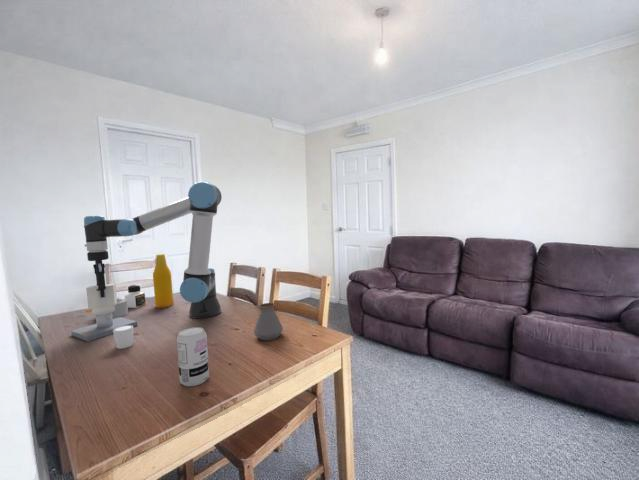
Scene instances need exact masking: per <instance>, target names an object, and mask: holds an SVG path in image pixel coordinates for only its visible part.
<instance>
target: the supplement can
mask: <svg viewBox="0 0 639 480" xmlns="http://www.w3.org/2000/svg"><path fill="white" fill-rule="evenodd" d="M175 341H176V349H177V361H178V364H177V365H178V374H179V375H178V376H179V382H180V384H181V385H183V386H185V387H195V386H199V385H201V384H204V383H205V382H206V381H207V380H208V379H209V378H210V365H209V351H208V336H207V333H206V331H205V329H204V328H203V327H200V326H195V327H188V328H184V329H182V330H180V331H179V332H178V334H177V338H176V340H175Z"/></svg>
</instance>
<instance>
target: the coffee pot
mask: <svg viewBox="0 0 639 480" xmlns="http://www.w3.org/2000/svg"><path fill="white" fill-rule="evenodd" d="M242 297H243V299H247V300H248V301H250V303H251V304H253V305H254V306H255V307H256V308H257V309H259V311H260V313H259V315H258V318H257V321H256V324H255V326H254V330H253V333H254V335H255V336H256V337H257V338H259V340H261V341H273V340H276V339H278V338H279V336H281V334H282V332H283V330H284V327H283V325H282V322H280V319H279V318H278V316H277V313H276V311H275V307H276V304H275V303H274V302H265V303H261V304H258V303H257V302H256V301H255V300H254V299H253V298H252V297H250V296H249V295H248V294H245V295H244V296H242Z"/></svg>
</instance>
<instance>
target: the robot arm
mask: <svg viewBox="0 0 639 480" xmlns="http://www.w3.org/2000/svg"><path fill="white" fill-rule="evenodd" d="M187 195H188V196H187V197H185V198H182V199H180V200H178V201H174V202H172V203H170V204H167V205H164V206H161V207H158V208H156V209H154V210H151V211H148V212H146V213H143V214H141V215H138V216H136V217H132V218H129V219H128V218H122V219H106V217H105V216H104V215H87V216H85V217H84V218H83V228H84V233H85V242H86V244H84V247H86V251H87V253H86V256H87V261H89V262H95V263H94V264H93V265H92V266H93V269H94V270H93V271H94V274H95V278H96V286H97V285H98V289H96V291H98V295H99V304H100V305H104V304H107V298H106V286H105V285H106V278H105V274H106V269H105V267H106V264H105V263H103V261H106V260H108V259H109V251H108V249H109V248H108V246H109V244H108V240H107V239H108V238H116V237H118V238H119V237H124V238H126V237H132V236H137V235H140V234H142V233H143V232H145V231H148V230H150V229H153V228H156V227H158V226H160V225H164V224H166V223H169V222H172V221H175V220H177V219H180V218H181V217H185V216H186V215H189V214H191V215H192V221H191V233H190V243H189V244H190V245H189V256H188V264H187V265H188V266H187V268H186V269H184V271H183V281H182V282H181V284H180V286H179V293H180V296H181V297H182V299H183V300H184V301H186V302H188V303H190V307H189V308H190V309H189V311H188V314H189V318H192V319H205V318H210V317H214V316H217V315H220V314H221V312H222V307H221V305H220V302H219V300H218V298H217V286H216V285H217V284H216V272H215V269H214V268H209V261H210V253H211V252H210V251H211V242H212V230H213V229H212V228H213V218H214V216H217V214H218V213H217V212H218V206H219V205H220V203H221V201H222V192H221V190H220V188H218V187H217V186H216V185H214V184H212V183H210V182H207V181H198V182H195V183H194V184H193V185H191V187H190V188H189V190H188V194H187Z"/></svg>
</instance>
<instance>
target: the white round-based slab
mask: <svg viewBox="0 0 639 480" xmlns="http://www.w3.org/2000/svg"><path fill="white" fill-rule="evenodd" d="M105 286H106V298H107V304H104V305H100V304H99V295H98V291H96V289H98V285H97V284H96V285H89V286H87V287H86V288H85V289H86V297H87V298H86V299H87V308H88V309H85V313H91V314H92V316H96V315H104V314H108V313H112V312H114V311H115V306H114V305H116V304H117V298H118V296H117V289H116V283H110V284H109V283H108V284H105Z"/></svg>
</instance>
